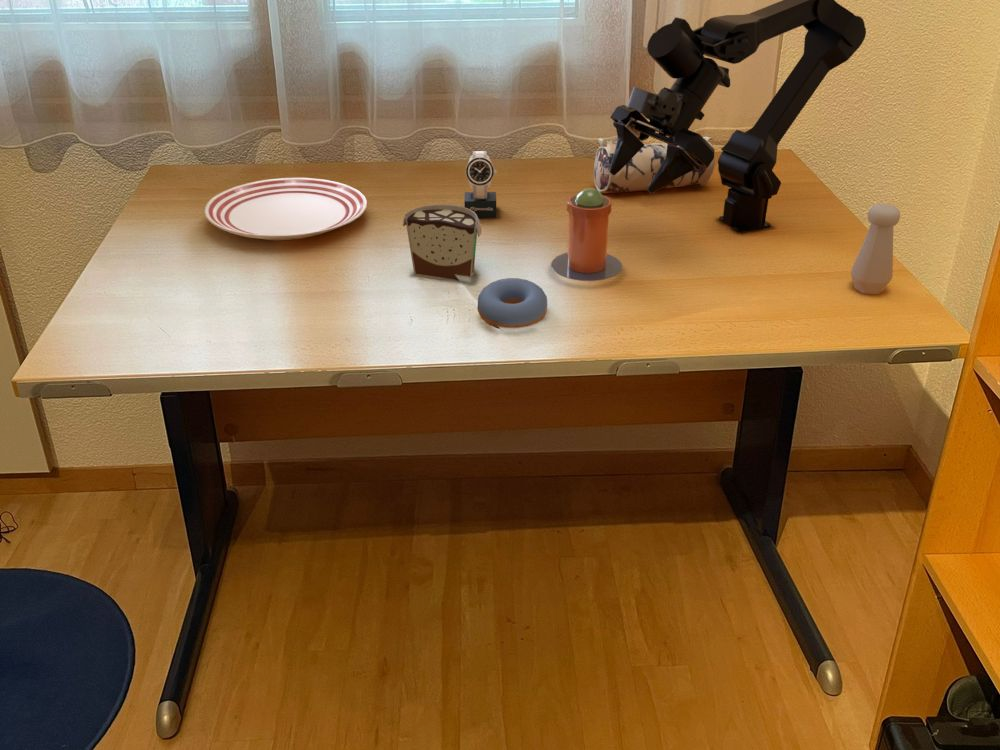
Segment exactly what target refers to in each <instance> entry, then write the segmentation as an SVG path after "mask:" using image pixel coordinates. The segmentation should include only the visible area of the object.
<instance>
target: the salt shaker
mask: <svg viewBox="0 0 1000 750" xmlns="http://www.w3.org/2000/svg"><path fill="white" fill-rule="evenodd" d="M900 218H901V211H900V209H899V208H898V207H897V206H895V205H892V204H889V203H876V204H874V205H872V206H871V207H870V208H869V209H868V212H867V220H868V222H869V223H870V226H869V228H868V230H867V232H866V234H865V237H864V239H863V242H862V244H861V247H860V249H859V251H858V253H857V256H856V258H855V261H854V262H853V265H852V268H851V270H850V275H851V280H852V283H853V286H854V287H853V288H854V290H857V291H858V292H860V293H862V294H865V295H866V294H867V295H878V294H881V293H882V292H883V291H884V290H885V289H886V288H887V286H889V284H890V282H891V281H892V279H893V272H894V271H893V267H894V265H893V264H894V227H895V226H896V225H897V224H898V223H899V222H900Z"/></svg>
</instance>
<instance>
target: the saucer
mask: <svg viewBox="0 0 1000 750" xmlns="http://www.w3.org/2000/svg"><path fill="white" fill-rule="evenodd" d="M567 258H568V251H567V252H564V253H561V254H559V255H556V256H555V258H553V259H552V261H551V264H550V267H551V269H552V270H553V272H554V273H556V274H557V275H559V276H561V277H564V278H565V279H570V280H574V281H583V282H595V281H596V282H597V281H603V280H604V281H605V280H608V279H611V278H613V277H615V276H617V275H618V274H619V273H621V271H622V270H623V264H622V262H621V261H620V259H618V258H616V256H613V255H611V254H609V253H607V258H606V267H605V269H603V270H602V271H599V272H596V273H580V272H576V271H573V270H571V269H570V268H569V267H568V265H567Z"/></svg>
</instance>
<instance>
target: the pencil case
mask: <svg viewBox="0 0 1000 750" xmlns="http://www.w3.org/2000/svg"><path fill="white" fill-rule="evenodd" d="M702 137H703V138H704V139H705V140H706V141H707V142H708V143H709V144H710V145H711V146H712V147H713V144H712V143H711V142H710V141H714V140H715V138H714V137H710V136H702ZM597 141H598V143H599V145H600V146H599V147H598V148H597V150H596V153H595V156H594V157H595V158H594V164H593V181H594V185H595V189H596V190H598V191H599V192H600V193H601V194H616V193H630V192H638V191H641V192H642V191H648V190H647V189H648V187H649V185H650V183H651V181H652V179H653V178H654V176H655V174H656V173H657V171H658V170H659V168H660V166H661V165H662V163H663V161H664V160H665V158H666V154H667V143H665V142H653V143H643V144H644V146H643V147H642V148H641V149H640V150H639V151H638V153H636V155H635V156H634V157H633V158H632V159H631V160H630V161H629V162H628V163H627V164H626V165H625V166H624V167H623V168H622V169H621V170H620V171H619V172H618V173H617V174H615V175H612V174H611V173H610V172H609V171H610V167H611V163H612V159H613V156H614V152H615V148H616V144H617V140H615V139H610V140H609V141H608V140H607V141H605V140H604V139H603V138H600V137H598V140H597ZM713 148H714V147H713ZM715 165H716V156H715V154H714V159H713V161H712V162H711V164H710V165H709V167H708V168H705V167H703V166H700V165H698V166H699V167H700V169H699V170H693V171H691V172H689V173H687V174H685V175H683V176H681V177H679V178H677V179H676V180H674V181H672V182H670V183H669V184H667V185H666V186H664V187H662V188H661V189H660V190H662V189H663V190H664V189H665V190H666V189H667V190H668V189H673V188H679V187H688V186H696V187H697V186H698V187H699V186H705V185H707V184H708V183H709V182H710V179H711V177H712V175H713V173H714V171H715V170H714V169H715Z"/></svg>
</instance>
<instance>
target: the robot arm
mask: <svg viewBox="0 0 1000 750" xmlns="http://www.w3.org/2000/svg"><path fill="white" fill-rule="evenodd" d="M801 27H803V28H805V30H806V31H807V32H806V34H805V36H804V41H803V42H804V43H803V54H802V55H801V57H800V59H799V60H798V61H797V63H796V64H795V66H794V67H793V69H792V70H791V72H790V73H789V74H788V76H787V77H786V78H785V80H784V82H783V83H782V85H781V86H780V87H779V89H778V90H777V92H776V93H775V95H774V96H773V97H772V98H771V101H770V102H769V103H768V105H767V106H766V108H765V109H764V110H763V112H762V113H761V115H760V116H759V118H758V119H757V121H756V122H755V124H753V126H752V127H751V128H749V129H748V130H746V131H742V130H739V129H736V130H735V131H734V132H732V134H731V136H730V137H729V139H728V141H727V142H726V144H725V145H724V146H723V147H721V148H720V150H721V153H720V155H719V157H718V159H717V164H718V165H717V166H718V168H717V169H718V174H719V177H720V183H721V185H722V186H726V187H728V189H727V197H726V198H725V199H724V206H723V212H722V213H723V214H722V215H721V216H719V217H718V220H719V221H720V222H721V223H723V224H724V225H727V226H728V227H729V228H731V229H732V230H734V231H736V232H737V233H746V232H747V233H748V232H751V231H758V230H763V229H768V228H771V225H772V224H771V223H770V222H768V221H767V220H766V219H767V213H768V206H769V200H771V199H772V197H774V196H776V195H778V193H779V191H780V187H781V185H782V181H781V179H780V178H779V177H778V176H777V175H776V173H774V167H775V166H776V165H777V158H778V145H779V144H780V141H781V140H783V138H784V137H785V135H786V133H788V131H789V129H790V128H791V127H792V126H793V123H794V122H795V120H796V119H797V118H798V116H799V115H800V113H801V112H802V111H803V109H804V108H805V106H806V105H807V103H808V102H809V101H810V99H811V97H812V96H813V95H814V94H815V92H816V90H817V89H818V88H819V86H820V84H821V83H822V82H823V81H824V79H825V77H826V76H827V74H828V73H829V72H830V71H832V70H833V69H835V68H837V67H839V66H840V65H842V64H844V63H846V62H847V61H849V59H851V57H852V56H853V55H854V54H855V53H856V52H857V50H858V49H860V47H861V46H862V44H863V42H864V41H865V38H866V35H867V29H866V25H865V21H864V19H863V17H862V16H860V15H855V14H854V12H852V11H850V10H849V9H847V8H845V6H843V5H841V4H840V3H838V2H837V1H836V0H780V1H777V2H775V3H772V4H770V5H768V6H765V7H762V8H760V9H757V10H755V11H752V12H750V13H745V14H725V15H720V16H719V15H718V16H714V17H711V18H708V19H707V20H706V21H705V22H704V23H703V25H702V26H700V27H697V28H695V29H693V28H692V27H691V25H690V23H689V22H688V21H687V19H684V18H682V17H678V16H677V17H676V16H675V17H674V18H673V20H672V22H671V23H668V24H665V25H663V26H661V27H660V28H659V29H657V31H655V32H653V33H652V35H651V36H650V38H649V39H648V41H647V46H646V47H647V48H646V51H647V54H648V55H649V56H650V57H651V58H652V59H653V60H654V62H656V64H658V66H659V67H660V68H661V69H662V70H663V71H664V72H665V73H666V74H667V75H668V76H669V77H670V78H671V79H675V81H674V82H673V84H672V85H671V87H670V88H669V87H665V86H664V87H663V88H661V89H660V90H659V92H658V93H655V92H651V91H649V90H645V89H642V88H639V87H636V86H633V88H632V91H631V92H630V96H629V98H628V101H627V104H622V105H618V106H616V108H615V109H614V111H613V112H612V113H611V115H610V119H611V120H612V121H613V123H612V126H613V127H614V128H615V131H616V135H617V137H616V142H617V144H616V148H615V152H614V156H613V159H612V163H611V167H610V171H609V172H610V173H611V174H612V175H615V174H617V173H618V172H619V171H620V170H621V169H622V168H623V167H624V166H625V165H626V164H627V163H628V162H629V161H630V160H631V159H632V158H633V157H634V156H635V155H636V153H638V151H639V150H640V149H641V148H642V147H643V146H644V144H645V143H643V142H644V141H645V140H648V139H649V138H650V137H651V138H652V139H656V140H658V141H660V142H661V143H667V154H666V158H665V160H664V161H663V163H662V165H661V166H660V168H659V170H658V171H657V173H656V174H655V176H654V178H653V179H652V181H651V183H650V185H649V187H648V189H647V190H646V191H647V192H649V193H650V194H654V193H656V192H657V191H660V190H662V189H661V188H662V187H664V186H666V185H667V184H669V183H670V182H672V181H674V180H676V179H677V178H679V177H681V176H683V175H685V174H687V173H689V172H691V171H693V170H699V169H700V167H699V166H698V165H700V166H703V167H705V168H708V167H709V165H710V164H711V162H712V161H713V159H714V155H715V152H716V151H715V148H714V147H712V146H713V145H712V146H711V145H710V144H709V143H708V142H707V141H706V140H705V139H704V138H703V137H704V136H703V135H701V134H700V133H698V132H695V131H692V130H689V129H690V128H691V126H692V125H693V123H694V121H695V120H698V121H702V120H703V118H704V117H705V113H704V112H703V111H702V110H703V108H704V106H705V105H706V104H707V102H708V101H709V99H710V98H711V96H712V94H714V91H715V90H716V89H717V87H718V86H721V87H724V88H728V89H729V88H730V87H731V78H730V68H728V67H725V66H722V65H719V64H718V63H717V62H716V61H715V60H719V61H722V62H726V63H728V64H732V65H736V64H740V63H742V62H743V61H744V60H746V59H747V58H749V57H750V56H752V55H754V54H755V53H756V52H757V51H758V49H759V47H760V45H762V44H763V43H764V42H767V41H769V40H771V39H773V38H775V37H776V38H777V37H778V36H781V35H783V34H785V33H788V32H790V31H792V30H795V29H797V28H801ZM705 56H706V57H705ZM714 59H715V60H714Z"/></svg>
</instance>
